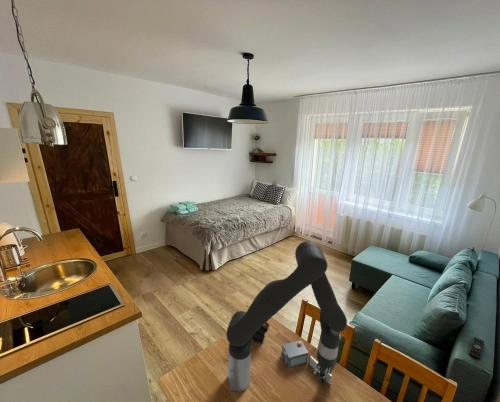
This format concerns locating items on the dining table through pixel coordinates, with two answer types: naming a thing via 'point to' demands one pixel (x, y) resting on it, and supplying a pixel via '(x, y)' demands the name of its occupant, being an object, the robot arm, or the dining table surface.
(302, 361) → the camera body
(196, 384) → the dining table surface
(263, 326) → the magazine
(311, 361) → the side door
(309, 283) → the robot arm
